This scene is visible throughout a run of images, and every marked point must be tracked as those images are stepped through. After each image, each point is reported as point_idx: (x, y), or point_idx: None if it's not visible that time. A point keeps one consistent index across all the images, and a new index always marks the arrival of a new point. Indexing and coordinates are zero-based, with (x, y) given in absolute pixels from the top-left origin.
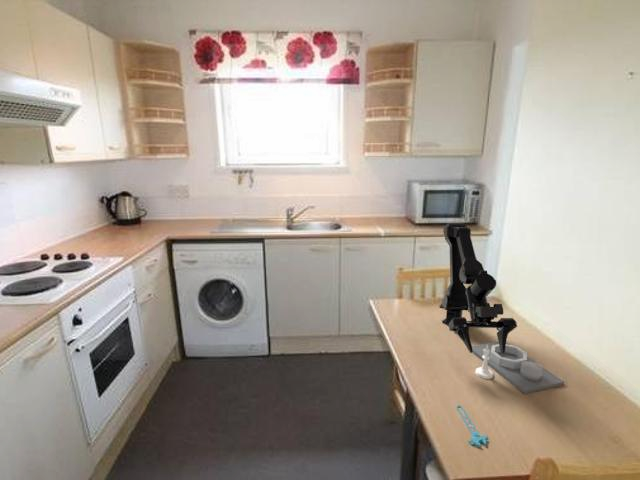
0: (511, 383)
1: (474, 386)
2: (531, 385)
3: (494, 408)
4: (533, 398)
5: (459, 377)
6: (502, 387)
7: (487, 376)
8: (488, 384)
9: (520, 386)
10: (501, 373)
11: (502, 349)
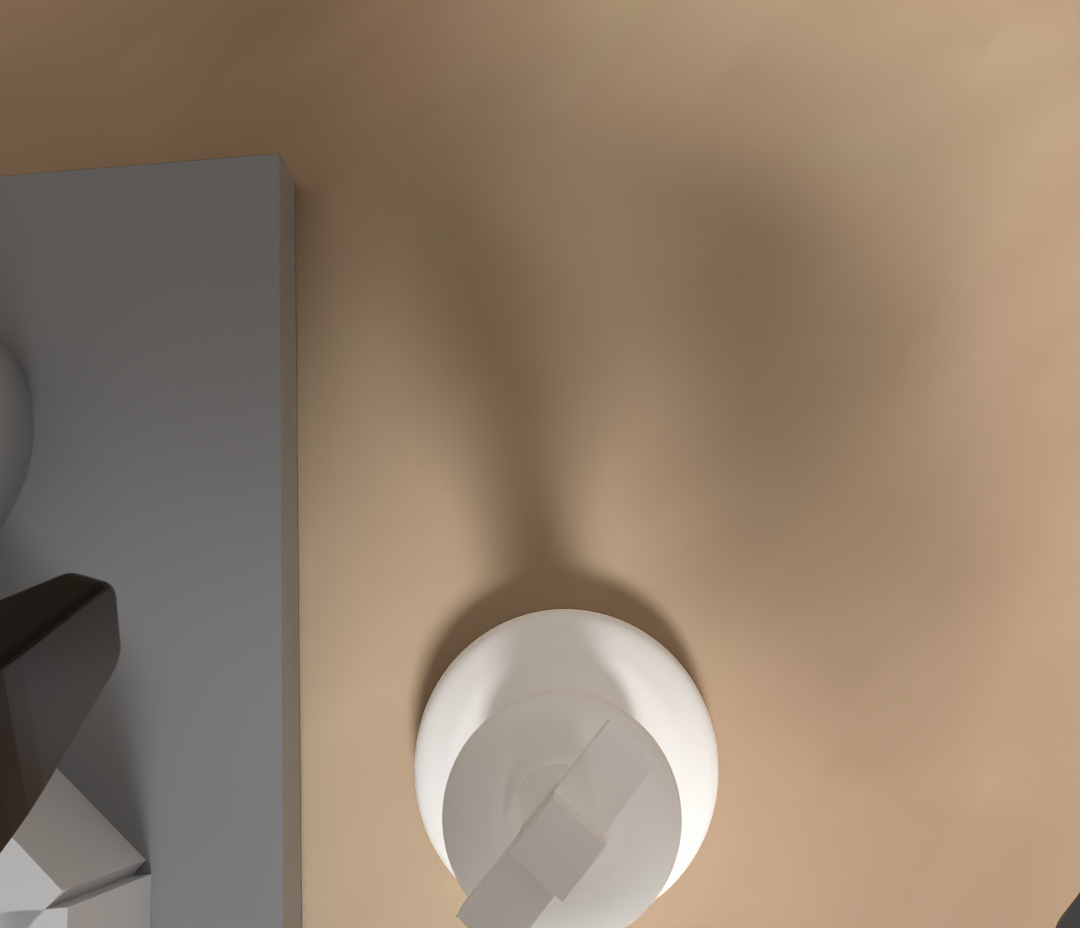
0: (295, 419)
1: (932, 481)
2: (79, 235)
3: (904, 21)
4: (249, 85)
5: (1075, 768)
6: (501, 368)
7: (598, 618)
8: (672, 479)
9: (264, 246)
10: (287, 646)
11: (51, 644)
